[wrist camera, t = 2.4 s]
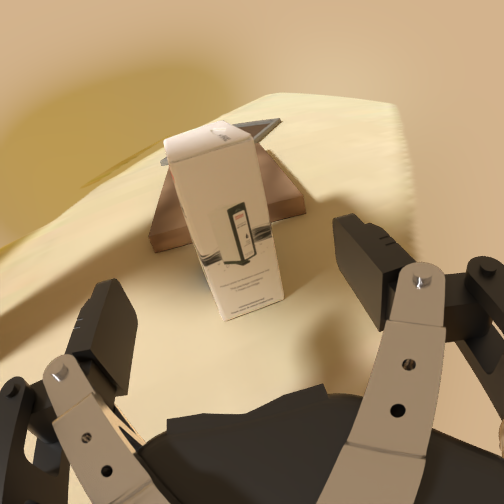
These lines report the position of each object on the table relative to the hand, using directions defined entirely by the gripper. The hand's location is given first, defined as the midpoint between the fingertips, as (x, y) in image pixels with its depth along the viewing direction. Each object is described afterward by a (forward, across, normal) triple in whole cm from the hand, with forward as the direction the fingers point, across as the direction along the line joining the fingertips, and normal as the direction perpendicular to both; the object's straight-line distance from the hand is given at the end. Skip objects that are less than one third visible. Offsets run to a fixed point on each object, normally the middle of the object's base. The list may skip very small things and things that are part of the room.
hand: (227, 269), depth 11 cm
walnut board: (+32, 0, +8) cm, 34 cm away
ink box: (+12, 0, +9) cm, 15 cm away
